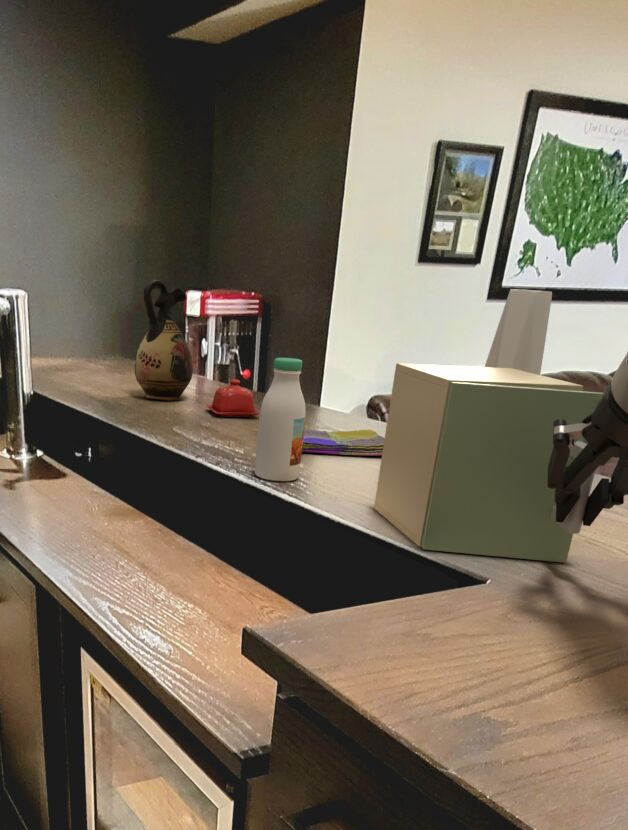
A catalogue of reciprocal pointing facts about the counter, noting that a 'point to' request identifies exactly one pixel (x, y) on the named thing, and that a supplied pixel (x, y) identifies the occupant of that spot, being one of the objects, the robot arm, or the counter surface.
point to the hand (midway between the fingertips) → (572, 513)
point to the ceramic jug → (163, 348)
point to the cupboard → (428, 434)
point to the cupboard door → (504, 472)
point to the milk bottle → (281, 424)
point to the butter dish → (233, 401)
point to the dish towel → (343, 442)
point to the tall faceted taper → (521, 331)
